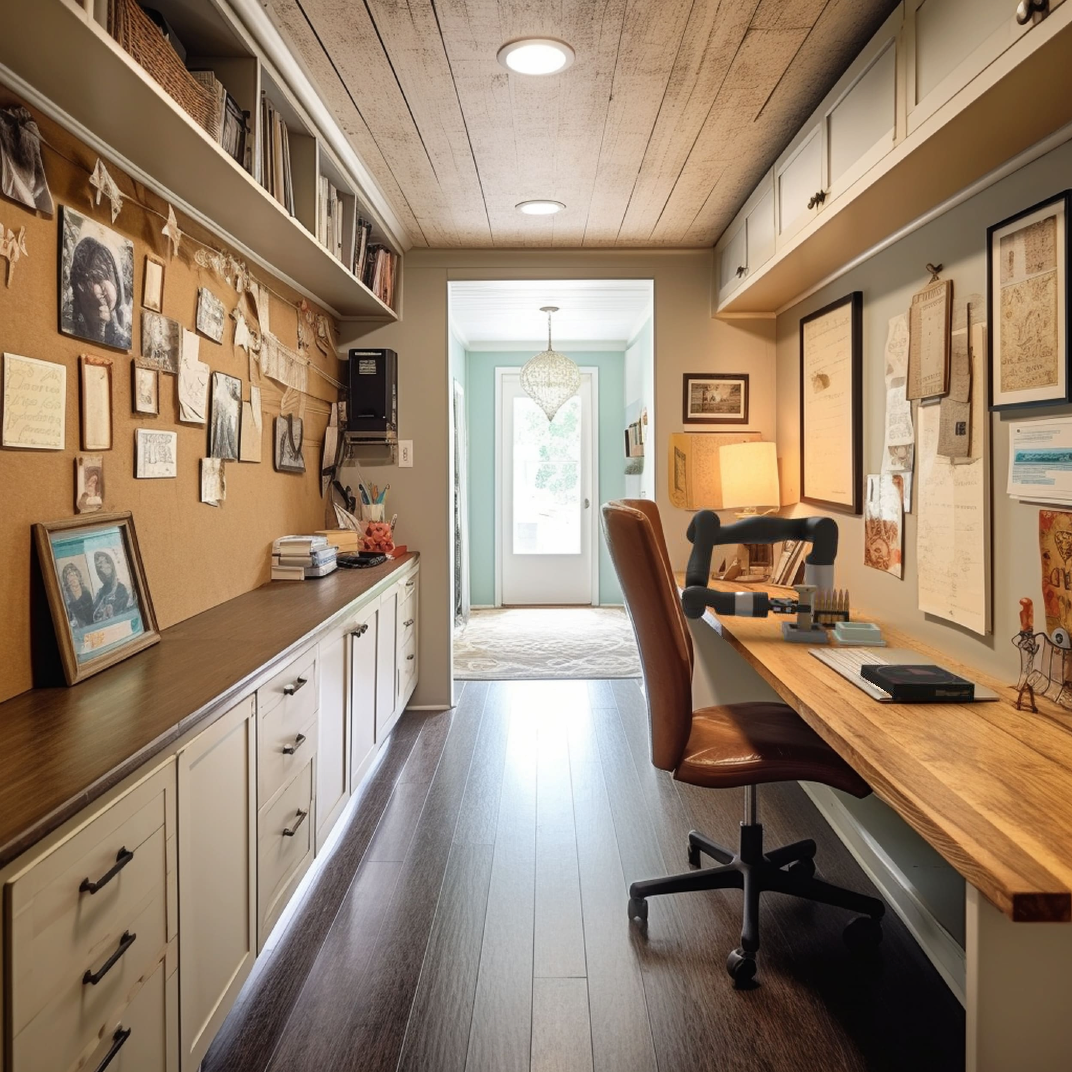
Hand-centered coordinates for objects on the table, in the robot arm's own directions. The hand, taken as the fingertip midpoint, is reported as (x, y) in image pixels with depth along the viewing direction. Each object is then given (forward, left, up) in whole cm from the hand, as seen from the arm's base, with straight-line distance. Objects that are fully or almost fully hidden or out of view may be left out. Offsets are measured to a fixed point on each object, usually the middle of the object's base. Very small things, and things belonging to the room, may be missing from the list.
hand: (809, 606), depth 219 cm
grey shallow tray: (0, +13, -9) cm, 16 cm away
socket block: (0, -1, -9) cm, 9 cm away
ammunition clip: (-19, +9, -9) cm, 23 cm away
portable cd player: (+53, +16, -10) cm, 56 cm away
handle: (0, -1, -9) cm, 9 cm away
